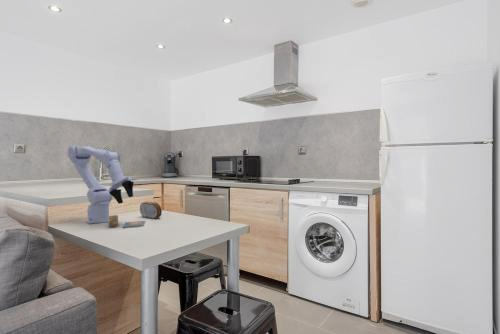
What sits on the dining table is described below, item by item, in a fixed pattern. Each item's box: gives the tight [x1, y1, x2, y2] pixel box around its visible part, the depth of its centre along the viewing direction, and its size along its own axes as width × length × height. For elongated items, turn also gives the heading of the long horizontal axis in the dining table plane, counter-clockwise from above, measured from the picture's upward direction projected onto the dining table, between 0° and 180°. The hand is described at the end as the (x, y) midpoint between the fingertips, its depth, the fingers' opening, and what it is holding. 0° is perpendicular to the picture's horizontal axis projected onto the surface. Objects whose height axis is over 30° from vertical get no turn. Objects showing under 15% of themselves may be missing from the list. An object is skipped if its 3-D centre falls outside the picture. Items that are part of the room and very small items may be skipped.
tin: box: [139, 201, 162, 220], centre depth 151 cm, size 15×3×8 cm, turn 58°
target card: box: [122, 220, 146, 229], centre depth 134 cm, size 9×10×1 cm
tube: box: [108, 214, 119, 229], centre depth 132 cm, size 4×4×5 cm
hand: (125, 200), depth 135 cm, fingers open, 7 cm apart
